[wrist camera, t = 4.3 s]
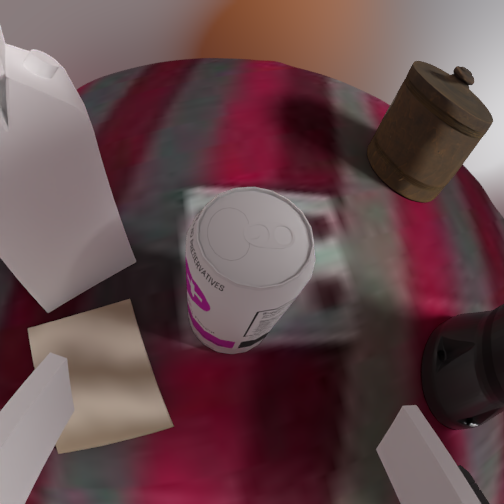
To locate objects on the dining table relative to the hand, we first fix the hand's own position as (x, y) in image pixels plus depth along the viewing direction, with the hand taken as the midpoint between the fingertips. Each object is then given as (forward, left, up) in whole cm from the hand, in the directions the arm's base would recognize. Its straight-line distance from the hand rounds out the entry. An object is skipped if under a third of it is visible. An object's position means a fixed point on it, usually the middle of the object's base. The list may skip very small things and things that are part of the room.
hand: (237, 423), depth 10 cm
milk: (+22, +9, -18) cm, 30 cm away
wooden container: (+22, -42, -18) cm, 51 cm away
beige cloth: (+7, +10, -18) cm, 22 cm away
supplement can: (+9, -5, -18) cm, 21 cm away
